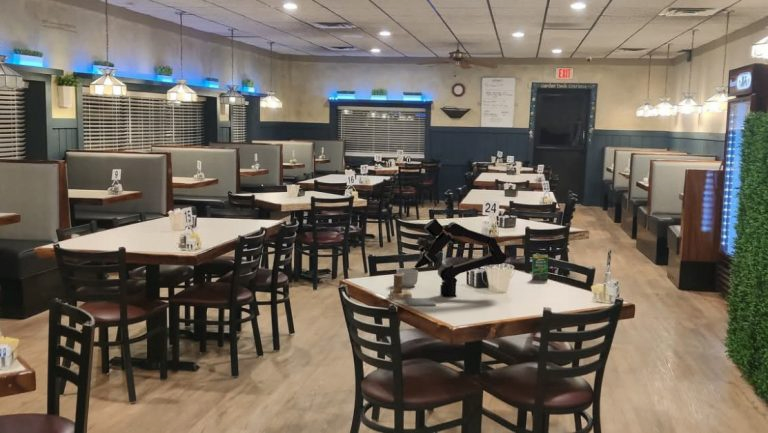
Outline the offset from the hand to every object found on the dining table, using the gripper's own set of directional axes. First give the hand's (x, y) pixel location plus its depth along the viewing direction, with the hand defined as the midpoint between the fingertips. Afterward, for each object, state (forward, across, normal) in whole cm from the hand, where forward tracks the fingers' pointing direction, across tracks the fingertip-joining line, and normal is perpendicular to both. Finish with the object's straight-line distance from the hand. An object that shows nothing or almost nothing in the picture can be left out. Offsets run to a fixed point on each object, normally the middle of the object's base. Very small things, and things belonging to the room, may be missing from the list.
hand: (415, 267), depth 344 cm
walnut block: (+12, 0, 0) cm, 12 cm away
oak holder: (+14, 0, +5) cm, 15 cm away
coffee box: (-42, -32, +61) cm, 81 cm away
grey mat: (+10, +14, +9) cm, 19 cm away
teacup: (+10, -21, +10) cm, 25 cm away
